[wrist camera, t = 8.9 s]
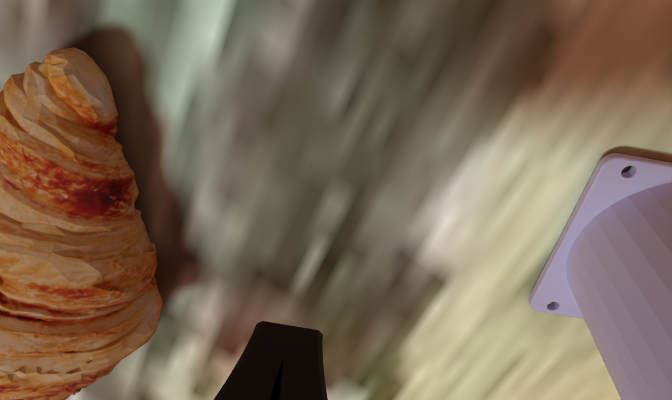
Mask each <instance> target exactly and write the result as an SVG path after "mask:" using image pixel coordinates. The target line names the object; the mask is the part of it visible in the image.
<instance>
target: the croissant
mask: <svg viewBox="0 0 672 400" xmlns="http://www.w3.org/2000/svg"><path fill="white" fill-rule="evenodd" d="M117 122H118V111H117V108H116V105H115V102H114V98H113V94H112V90H111V87H110V84H109V82H108V79H107V77H106V75H105V74H104V73H103V72H102V71H101V69H100V68H99V67H98V66H97V65H96V63H95V62H94V60H93V59H92V58H91V57H90V56H89V55H87V54H86V53H85V52H84V51H82V50H79V49H77V48H74V47H73V48H67V49H61V50H54V51H52V52H51V53H49V54H47V55H46V56H45V60H44V62H43V63H38V62H33V63H31V64H29V65H28V67H27V69H26V71H25V73H22V74H16V75H11V77H10V78H9V79H8V81H7V82H6V83H5V85H4V89H3V90H2V91H1V92H0V400H65V399H66V398H68V397H69V396H70V395H75V394H76V393H77V392H79V391H80V390H81V388H86V387H87V386H89V385H90V384H92V383H94V382H95V381H96V380H98V379H99V378H101V377H103V376H105V375H108V374H109V373H110V372H111V371H112V370H113V368H114V367H115V366H116V365H117V364H118V363H119V362H120V360H122V359H123V358H125V357H126V356H128V355H130V354H131V353H132V352H134V351H135V350H137V349H138V348H140V347H141V346H142V345H144V344H145V343H147V342H148V341H149V339H150V338H151V337H152V335H153V334H154V333H155V331H156V330H157V327H158V323H159V319H160V312H161V308H162V305H163V301H162V298H161V296H160V293H159V291H158V288H157V284H156V280H155V276H154V275H155V273H156V271H157V267H158V262H157V257H156V252H157V250H156V247H155V245H154V243H151V242H150V240H149V237H148V234H147V232H146V229H145V224H144V222H143V221H142V219H141V212H140V211H139V210H137V209H135V205H134V203H135V201H136V198H137V196H138V194H139V191H138V188H137V185H136V182H135V174H134V172H133V170H132V169H131V168H130V166H129V164H128V162H127V161H126V159H125V158H124V155H123V153H122V145H121V144H119V143H118V142H117V141H116V140H115V135H116V133H117V131H118V129H117V126H116V123H117Z"/></svg>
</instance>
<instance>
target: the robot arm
mask: <svg viewBox="0 0 672 400" xmlns="http://www.w3.org/2000/svg"><path fill="white" fill-rule="evenodd" d="M627 166H632V168H631V169H630V170H629V171H627V172H625V173H621V172H622V170H623V169H624V168H625V167H627ZM551 302H555V303H552V304H549V303H551ZM529 303H530V306H531V308H532V309H533V310H535V311H539V312H545V313H551V314H557V315H563V316H569V317H575V318H581V319H584V320H585V322H586V324H587V326H588V328H589V330H590V333H591V335H592V337H593V339H594V341H595V343H596V346H597V348H598V350H599V352H600V354H601V356H602V359H603V361H604V363H605V365H606V367H607V370H608V372H609V374H610V376H611V378H612V380H613V383H614V385H615V387H616V389H617V391H618V393H619V396H620V398H621V400H672V163H671V162H665V161H660V160H654V159H648V158H642V157H637V156H631V155H625V154H619V153H612V154H609V155H606V156H605V157H603V158H602V159H601V160H600V162H599V163H598V165H597V167H596V169H595V171H594V173H593V175H592V177H591V179H590V180H589V182H588V184H587V186H586V188H585V190H584V192H583V194H582V196H581V198H580V200H579V202H578V204H577V206H576V207H575V209H574V211H573V213H572V215H571V217H570V219H569V221H568V223H567V225H566V227H565V229H564V231H563V233H562V234H561V236H560V238H559V240H558V242H557V244H556V246H555V248H554V250H553V252H552V254H551V256H550V258H549V260H548V261H547V263H546V265H545V267H544V269H543V271H542V273H541V275H540V277H539V279H538V281H537V283H536V285H535V287H534V288H533V290H532V292H531V294H530V296H529ZM322 340H323V335H322V334H321V332H320V331H319V330H314V329H308V328H302V327H296V326H289V325H283V324H277V323H271V322H265V321H262V322H259V323H257V325H256V327H255V329H254V332H253V334H252V336H251V338H250V340H249V342H248V344H247V346H246V348H245V350H244V352H243V354H242V355H241V357H240V359H239V361H238V362H237V364H236V366H235V367H234V369H233V371H232V372H231V374H230V376H229V377H228V379H227V380H226V382H225V383H224V385H223V386H222V388H221V389H220V391H219V392H218V394H217V396H216V397H215V399H214V400H328V399H327V393H326V385H325V377H324V368H323V352H322Z"/></svg>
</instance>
